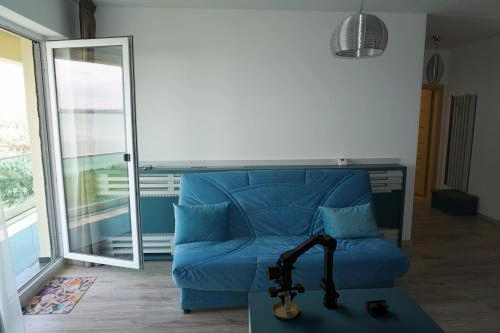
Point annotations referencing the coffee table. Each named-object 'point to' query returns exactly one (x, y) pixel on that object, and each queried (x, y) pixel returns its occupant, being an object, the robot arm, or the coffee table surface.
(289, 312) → the plant saucer
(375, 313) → the end cap
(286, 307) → the taupe streaky block
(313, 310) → the coffee table surface
